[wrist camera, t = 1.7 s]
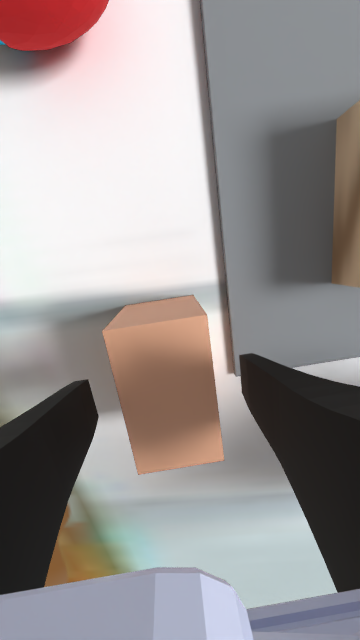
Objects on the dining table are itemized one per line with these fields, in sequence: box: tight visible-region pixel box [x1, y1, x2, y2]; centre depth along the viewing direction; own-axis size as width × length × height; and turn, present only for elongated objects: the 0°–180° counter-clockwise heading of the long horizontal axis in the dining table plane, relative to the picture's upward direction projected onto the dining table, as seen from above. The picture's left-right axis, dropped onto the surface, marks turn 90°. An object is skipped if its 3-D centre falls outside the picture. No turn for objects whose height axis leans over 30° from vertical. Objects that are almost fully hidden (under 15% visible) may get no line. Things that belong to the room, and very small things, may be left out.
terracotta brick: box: [102, 295, 224, 475], centre depth 12 cm, size 7×4×5 cm, turn 9°
